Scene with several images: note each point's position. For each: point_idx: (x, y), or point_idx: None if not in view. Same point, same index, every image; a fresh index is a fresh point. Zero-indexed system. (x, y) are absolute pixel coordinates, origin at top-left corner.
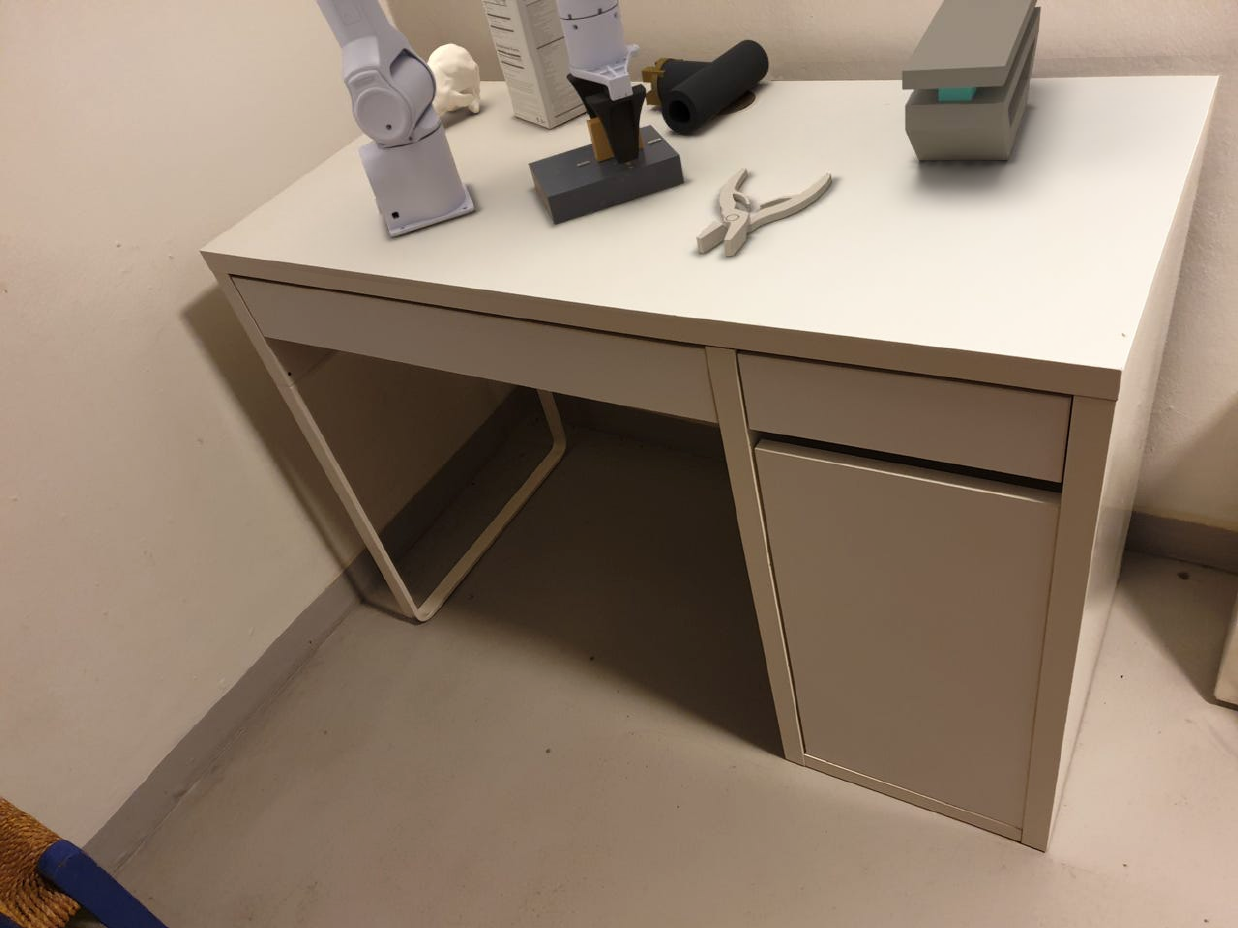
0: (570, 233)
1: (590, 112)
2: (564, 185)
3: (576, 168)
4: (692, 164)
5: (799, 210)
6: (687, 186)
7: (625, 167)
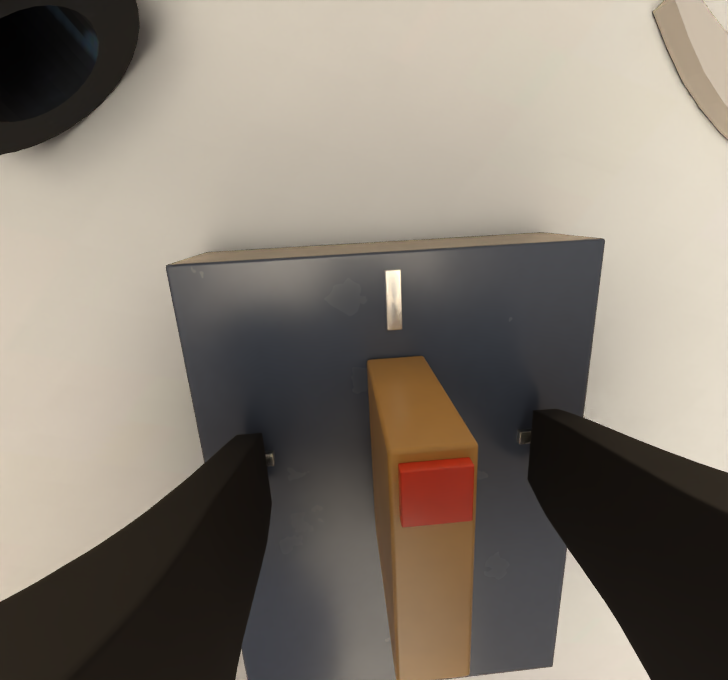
0: None
1: (237, 641)
2: (513, 625)
3: None
4: (416, 158)
5: None
6: (571, 229)
7: None
